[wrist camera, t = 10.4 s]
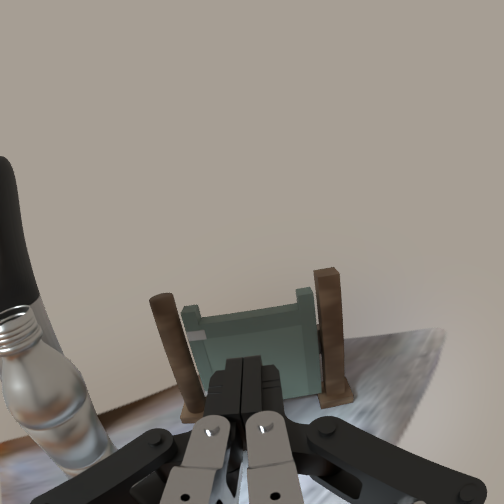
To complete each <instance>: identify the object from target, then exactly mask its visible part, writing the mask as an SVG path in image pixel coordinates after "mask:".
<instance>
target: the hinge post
mask: <svg viewBox="0 0 504 504" xmlns="http://www.w3.org/2000/svg"><path fill="white" fill-rule="evenodd" d="M149 302H150V306H151V309H152V312H153V315H154V319H155V322H156V325H157V328H158V331H159V334H160V337H161V340H162V343H163V346H164V349H165V352H166V354H167V357H168V360H169V363H170V366H171V368H172V371H173V373H174V376H175V378H176V382H177V384H178V387H179V389H180V392H181V394H182V397H183V399H184V406H183V409H182V413H181V416H180V419H181V421H182V423H196V422H197V421H198V420H200V419H201V418H203V413H204V407H205V402H206V397H205V396H204V393H203V390H202V387H201V384H200V382H199V379H198V376H197V373H196V370H195V367H194V364H193V361H192V358H191V354H190V351H189V348H188V345H187V342H186V338H185V335H184V332H183V328H182V325H181V322H180V318H179V315H178V311H177V308H176V304H175V300H174V297H173V294H172V293H162V294H159V295H156V296H154V297H152V298H150V300H149Z"/></svg>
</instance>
